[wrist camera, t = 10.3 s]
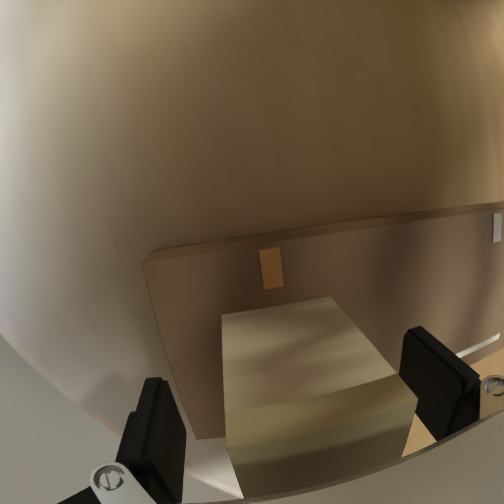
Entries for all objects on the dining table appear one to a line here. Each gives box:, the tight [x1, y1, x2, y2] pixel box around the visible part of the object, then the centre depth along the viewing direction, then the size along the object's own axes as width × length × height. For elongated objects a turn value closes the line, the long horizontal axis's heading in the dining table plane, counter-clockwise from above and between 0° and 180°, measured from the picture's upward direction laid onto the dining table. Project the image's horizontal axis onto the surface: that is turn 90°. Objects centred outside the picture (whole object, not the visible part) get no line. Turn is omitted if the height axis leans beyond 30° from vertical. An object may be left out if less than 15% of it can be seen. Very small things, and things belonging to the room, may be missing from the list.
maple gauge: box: [221, 296, 418, 499], centre depth 10 cm, size 5×5×7 cm
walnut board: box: [142, 202, 504, 439], centre depth 14 cm, size 22×10×2 cm, turn 98°
